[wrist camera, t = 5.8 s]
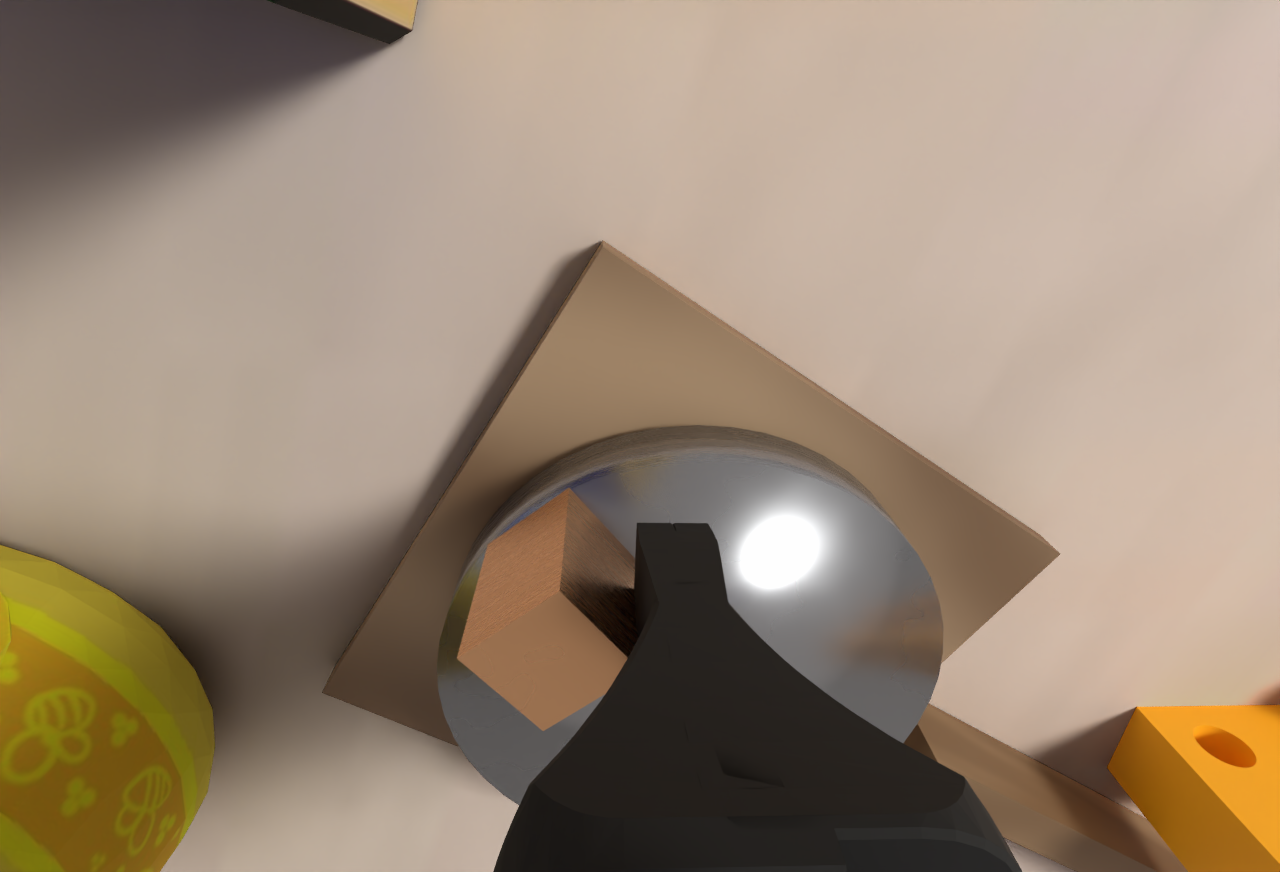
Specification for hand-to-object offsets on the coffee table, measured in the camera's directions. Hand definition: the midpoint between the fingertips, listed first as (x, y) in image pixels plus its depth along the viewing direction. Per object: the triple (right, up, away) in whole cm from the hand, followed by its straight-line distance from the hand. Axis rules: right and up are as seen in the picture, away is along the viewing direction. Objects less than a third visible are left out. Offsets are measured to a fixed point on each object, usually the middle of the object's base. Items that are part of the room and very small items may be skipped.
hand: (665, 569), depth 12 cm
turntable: (+1, -2, +4) cm, 5 cm away
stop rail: (+16, -10, +10) cm, 21 cm away
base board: (+1, -2, +5) cm, 5 cm away
